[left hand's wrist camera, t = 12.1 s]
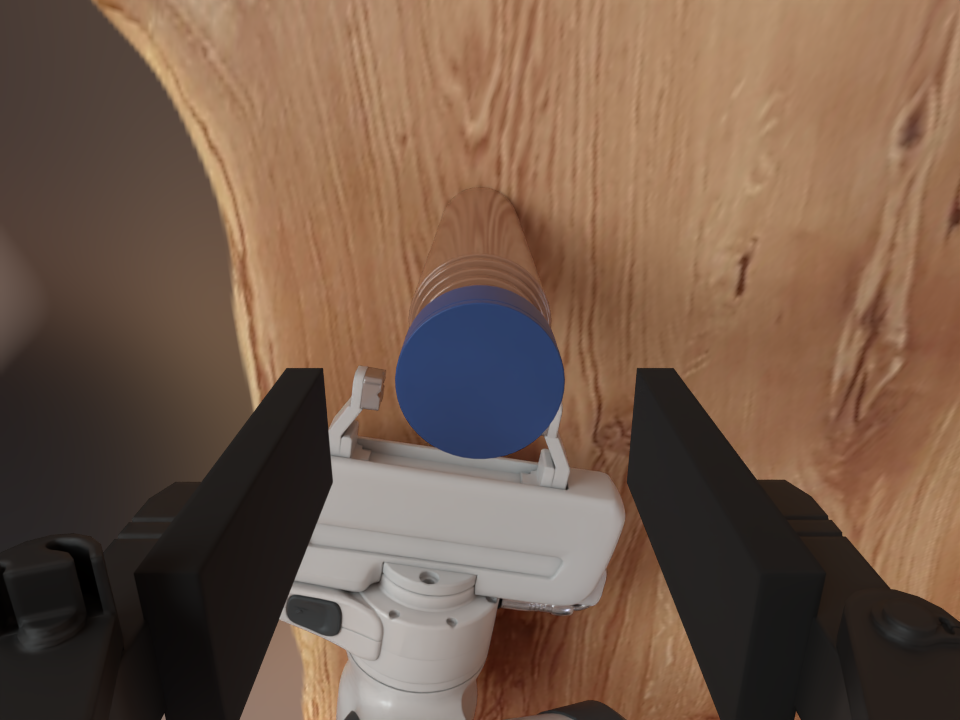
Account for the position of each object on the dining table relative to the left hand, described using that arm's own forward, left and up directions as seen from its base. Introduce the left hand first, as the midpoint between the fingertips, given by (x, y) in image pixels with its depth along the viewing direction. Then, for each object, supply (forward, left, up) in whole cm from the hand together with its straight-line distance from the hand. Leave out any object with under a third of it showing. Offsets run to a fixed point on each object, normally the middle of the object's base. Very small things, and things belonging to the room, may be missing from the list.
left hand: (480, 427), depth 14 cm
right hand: (+2, +7, -20) cm, 21 cm away
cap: (0, 0, -3) cm, 3 cm away
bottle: (0, 0, -26) cm, 26 cm away
